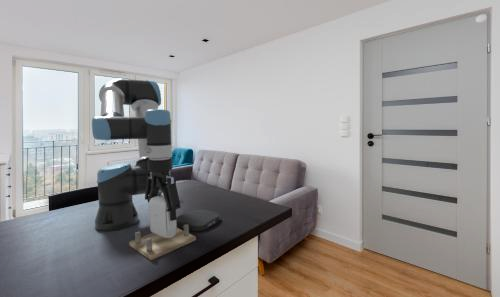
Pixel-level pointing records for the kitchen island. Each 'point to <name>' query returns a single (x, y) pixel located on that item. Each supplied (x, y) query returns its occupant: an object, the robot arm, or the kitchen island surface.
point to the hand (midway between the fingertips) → (162, 225)
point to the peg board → (161, 242)
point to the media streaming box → (197, 219)
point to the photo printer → (159, 217)
